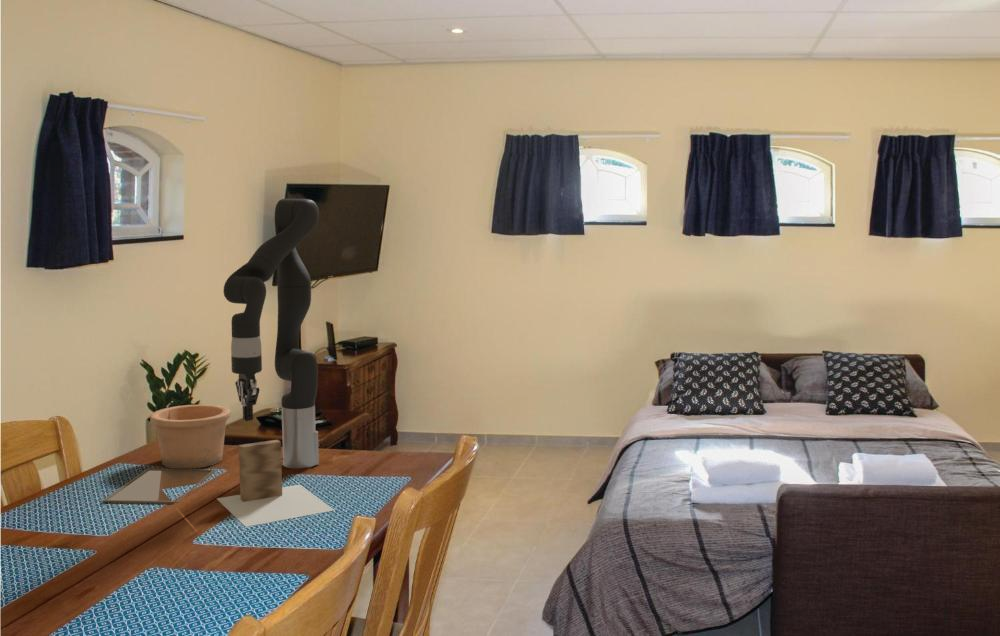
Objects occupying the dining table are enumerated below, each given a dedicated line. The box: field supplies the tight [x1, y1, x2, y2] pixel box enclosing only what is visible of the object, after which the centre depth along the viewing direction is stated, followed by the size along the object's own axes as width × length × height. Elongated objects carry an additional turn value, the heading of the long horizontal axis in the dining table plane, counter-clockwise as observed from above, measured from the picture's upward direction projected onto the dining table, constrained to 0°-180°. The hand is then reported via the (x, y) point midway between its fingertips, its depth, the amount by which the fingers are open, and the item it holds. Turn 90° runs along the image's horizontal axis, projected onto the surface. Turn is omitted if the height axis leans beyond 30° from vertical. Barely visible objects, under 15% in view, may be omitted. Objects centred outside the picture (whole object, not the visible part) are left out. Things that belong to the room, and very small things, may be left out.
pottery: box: [149, 403, 231, 470], centre depth 273 cm, size 22×22×14 cm
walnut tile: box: [238, 439, 283, 502], centre depth 240 cm, size 10×2×14 cm, turn 122°
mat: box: [216, 484, 335, 528], centre depth 235 cm, size 22×24×1 cm
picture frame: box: [101, 468, 216, 505], centre depth 251 cm, size 19×1×28 cm
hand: (247, 419), depth 246 cm, fingers closed
